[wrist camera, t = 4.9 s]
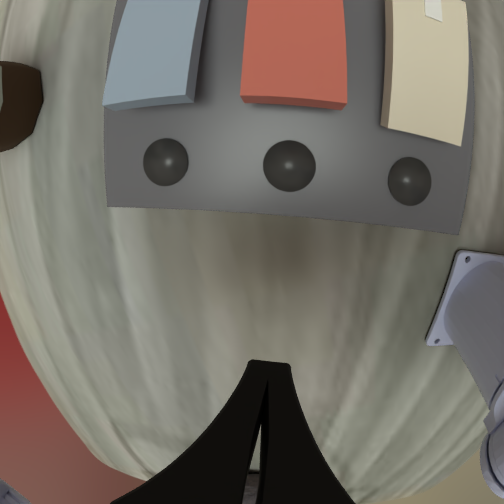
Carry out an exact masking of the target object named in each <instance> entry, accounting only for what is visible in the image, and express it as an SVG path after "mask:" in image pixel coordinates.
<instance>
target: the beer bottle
mask: <svg viewBox="0 0 504 504" xmlns="http://www.w3.org/2000/svg"><path fill="white" fill-rule="evenodd" d="M42 102H43V97H42V88H41V78H40V72H39V71H38V70H36V69H34V68H31V67H29V66H27V65H24V64H21V63H15V62H8V61H0V152H3V151H6V150H9V149H13V148H14V147H15V146H16V145H17V144H19V143H20V142H21V141H22V140H24V139H25V138H26V137H27V136H29V135H30V134H31V133H32V132H33V129H34V126H35V122H36V119H37V116H38V113H39V111H40V108H41V105H42Z"/></svg>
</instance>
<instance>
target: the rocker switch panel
mask: <svg viewBox="0 0 504 504" xmlns="http://www.w3.org/2000/svg"><path fill="white" fill-rule="evenodd" d="M127 1H128V0H117V2H116V7H115V12H114V18H113V23H112V30H111V37H110V44H109V52H108V61H107V72H106V80H107V75H108V70H109V65H110V61H111V56H112V52H113V48H114V44H115V40H116V37H117V33H118V29H119V26H120V23H121V19H122V16H123V13H124V10H125V7H126V4H127ZM247 5H248V0H209V2H208V7H207V13H206V18H205V24H204V30H203V37H202V43H201V50H200V57H199V64H198V72H197V80H196V88H195V97H194V103H180V104H167V105H157V106H147V107H139V108H131V109H124V110H118V111H114V110H111V109H109V108H106V107H104V163H105V182H106V196H107V207H137V208H167V209H190V210H209V211H226V212H242V213H257V214H270V215H283V216H295V217H307V218H318V219H329V220H339V221H349V222H358V223H367V224H376V225H385V226H393V227H401V228H409V229H417V230H424V231H432V232H439V233H446V234H453V235H459V231H460V227H461V222H462V217H463V212H464V207H465V202H466V196H467V190H468V184H469V177H470V169H471V160H472V150H473V136H474V107H475V100H474V72H473V59H472V49H471V41H470V34H469V27H468V47H469V66H468V89H467V102H466V112H465V121H464V129H463V136H462V142H461V146H458V145H454V144H451V143H447V142H444V141H440V140H437V139H433V138H429V137H425V136H421V135H417V134H413V133H409V132H404V131H400V130H395V129H390V128H386V127H384V126H382V125H380V124H381V114H382V103H383V90H384V74H385V43H386V23H385V0H343V8H344V20H345V35H346V56H347V104H346V106H345V107H344V108H343V109H342V110H334V109H326V108H318V107H308V106H296V105H282V104H261V103H244V102H243V100H242V98H241V97H240V87H241V74H242V62H243V49H244V38H245V26H246V16H247ZM467 24H468V21H467Z"/></svg>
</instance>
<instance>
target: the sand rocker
mask: <svg viewBox="0 0 504 504" xmlns="http://www.w3.org/2000/svg"><path fill="white" fill-rule="evenodd" d="M385 23H386V43H385V74H384V90H383V103H382V114H381V124H380V125H382V126H384V127H386V128H390V129H395V130H400V131H404V132H409V133H413V134H417V135H421V136H425V137H429V138H433V139H437V140H440V141H444V142H447V143H451V144H454V145H458V146H461V142H462V136H463V129H464V121H465V112H466V102H467V89H468V66H469V47H468V24H467V12H466V3H465V2H463V1H461V0H385Z"/></svg>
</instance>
